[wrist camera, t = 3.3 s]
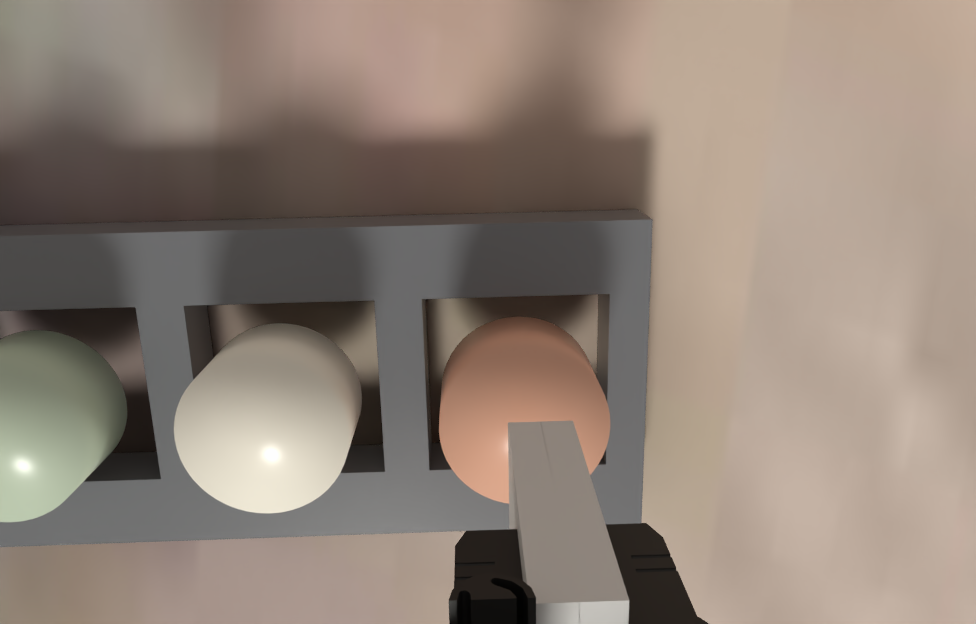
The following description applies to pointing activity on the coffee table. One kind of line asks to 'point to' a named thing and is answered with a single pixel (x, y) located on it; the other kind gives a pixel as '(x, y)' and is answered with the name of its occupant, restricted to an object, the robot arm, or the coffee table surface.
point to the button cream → (269, 419)
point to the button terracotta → (515, 398)
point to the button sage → (53, 419)
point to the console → (400, 344)
